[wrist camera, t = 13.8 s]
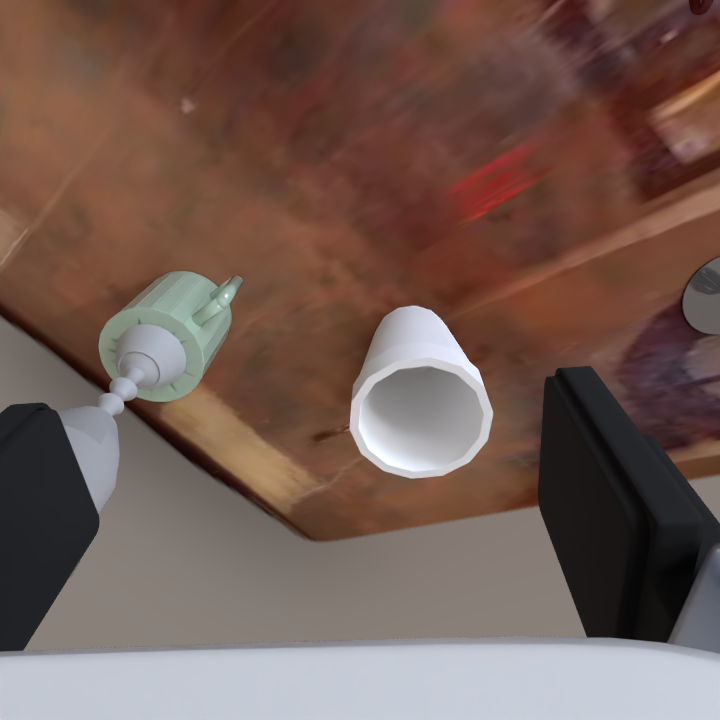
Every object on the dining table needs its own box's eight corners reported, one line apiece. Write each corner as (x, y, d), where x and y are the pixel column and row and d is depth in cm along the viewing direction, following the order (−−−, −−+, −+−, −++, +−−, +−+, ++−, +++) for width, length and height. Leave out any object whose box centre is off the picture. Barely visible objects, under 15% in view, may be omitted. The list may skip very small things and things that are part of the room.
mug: (186, 367, 50) (151, 418, 43) (125, 302, 48) (76, 344, 40) (275, 305, 47) (255, 348, 40) (215, 233, 45) (182, 263, 37)
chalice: (124, 404, 42) (-34, 604, 26) (84, 324, 39) (-122, 492, 23) (214, 386, 41) (108, 581, 25) (180, 302, 38) (34, 462, 22)
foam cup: (343, 369, 50) (332, 457, 38) (375, 274, 46) (373, 340, 34) (443, 398, 51) (461, 491, 39) (482, 307, 47) (516, 382, 35)
